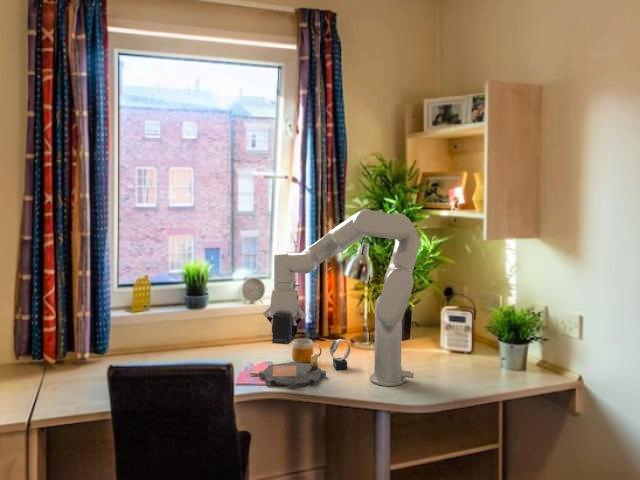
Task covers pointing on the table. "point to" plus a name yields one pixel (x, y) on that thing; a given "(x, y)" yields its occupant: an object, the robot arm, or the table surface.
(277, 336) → the small box
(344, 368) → the watch
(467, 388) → the table surface
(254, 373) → the stand
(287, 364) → the sprocket
